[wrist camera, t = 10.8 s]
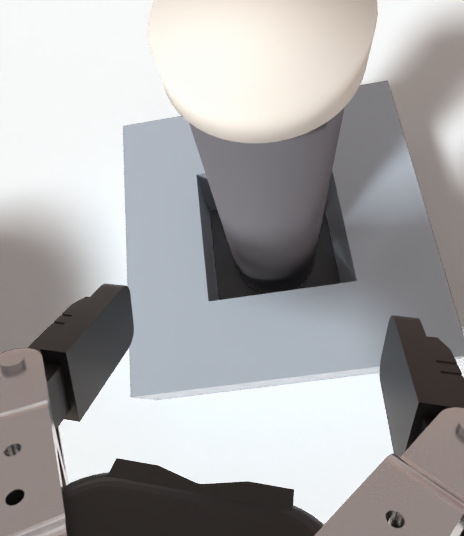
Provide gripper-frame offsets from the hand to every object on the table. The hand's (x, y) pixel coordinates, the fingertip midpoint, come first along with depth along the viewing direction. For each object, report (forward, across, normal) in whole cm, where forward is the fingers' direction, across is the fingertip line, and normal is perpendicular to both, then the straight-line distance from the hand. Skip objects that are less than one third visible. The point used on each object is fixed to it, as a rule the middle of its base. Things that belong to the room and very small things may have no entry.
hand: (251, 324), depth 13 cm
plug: (+11, 0, +2) cm, 11 cm away
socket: (+11, 0, +2) cm, 11 cm away
